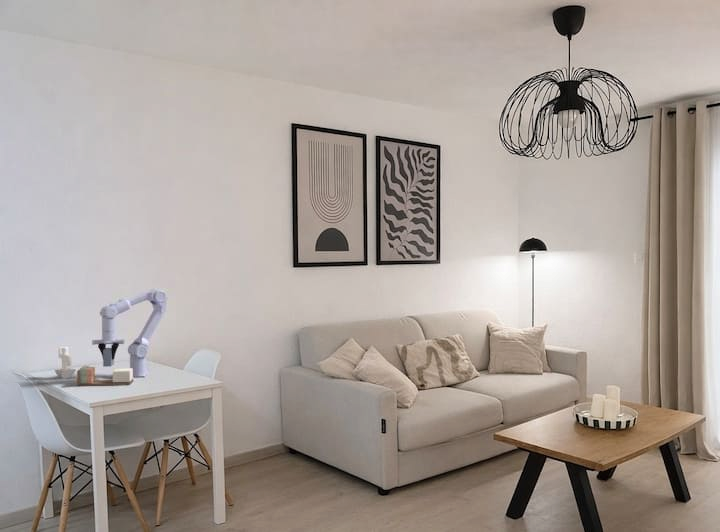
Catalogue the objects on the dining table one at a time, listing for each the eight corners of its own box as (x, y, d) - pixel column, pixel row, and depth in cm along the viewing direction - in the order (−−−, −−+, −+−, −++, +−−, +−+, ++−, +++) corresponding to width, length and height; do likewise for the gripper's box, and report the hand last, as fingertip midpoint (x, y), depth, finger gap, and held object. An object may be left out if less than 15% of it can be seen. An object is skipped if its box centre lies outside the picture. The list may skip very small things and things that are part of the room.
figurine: (62, 379, 297) (62, 348, 296) (53, 377, 302) (52, 346, 302) (77, 377, 302) (76, 346, 302) (67, 374, 308) (67, 344, 308)
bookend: (116, 379, 293) (116, 368, 293) (132, 378, 294) (132, 368, 294) (112, 382, 286) (112, 371, 286) (129, 381, 287) (129, 371, 287)
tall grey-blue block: (106, 364, 300) (106, 347, 300) (114, 364, 301) (113, 347, 300) (103, 366, 294) (103, 349, 294) (111, 366, 295) (110, 349, 295)
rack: (82, 382, 291) (82, 365, 291) (133, 381, 295) (133, 364, 295) (77, 386, 283) (77, 368, 283) (129, 384, 287) (129, 367, 287)
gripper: (90, 332, 292) (90, 361, 292) (122, 331, 294) (122, 360, 295) (94, 330, 299) (94, 358, 299) (125, 329, 301) (125, 357, 302)
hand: (108, 359), depth 298 cm, fingers closed on tall grey-blue block, 3 cm apart
